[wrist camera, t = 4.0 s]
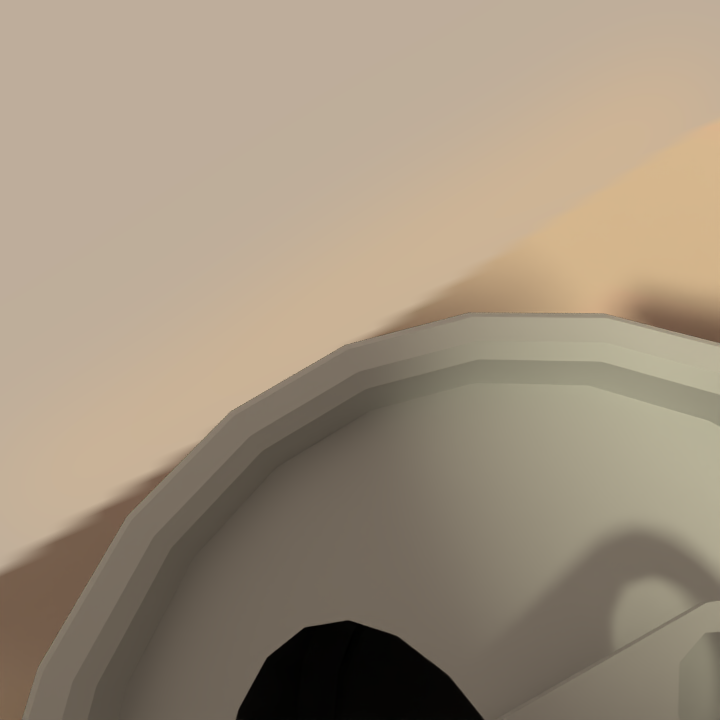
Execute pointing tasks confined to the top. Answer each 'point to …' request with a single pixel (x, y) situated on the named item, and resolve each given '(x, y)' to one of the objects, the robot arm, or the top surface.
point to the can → (426, 540)
